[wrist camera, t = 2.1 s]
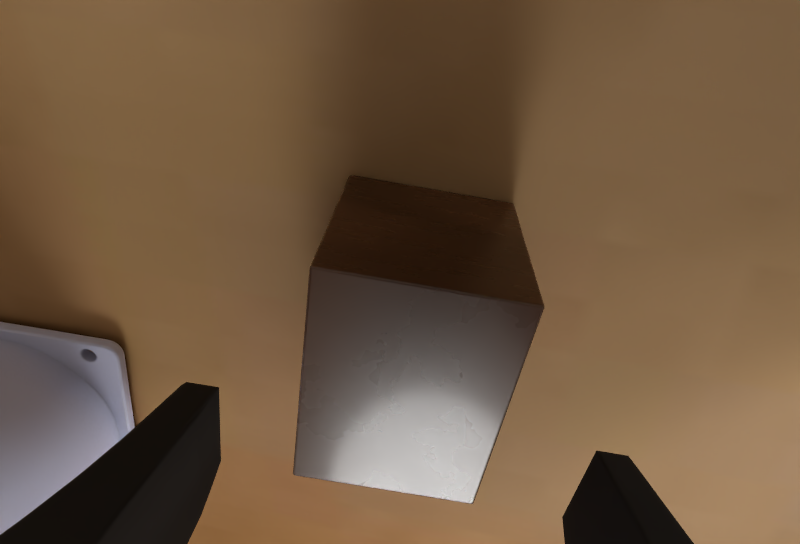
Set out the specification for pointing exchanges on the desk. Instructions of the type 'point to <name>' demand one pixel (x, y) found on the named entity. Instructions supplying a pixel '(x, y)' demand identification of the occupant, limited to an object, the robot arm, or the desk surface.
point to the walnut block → (413, 339)
